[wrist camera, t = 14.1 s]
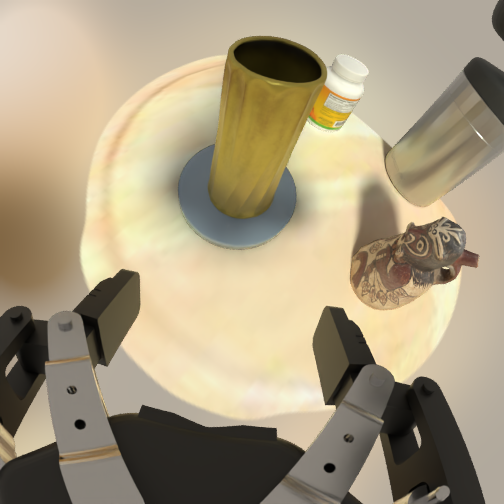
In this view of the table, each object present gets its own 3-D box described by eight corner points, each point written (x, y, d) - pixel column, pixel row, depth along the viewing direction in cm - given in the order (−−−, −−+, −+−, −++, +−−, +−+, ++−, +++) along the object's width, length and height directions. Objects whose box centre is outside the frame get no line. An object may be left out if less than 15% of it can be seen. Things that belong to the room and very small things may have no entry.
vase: (194, 181, 24) (196, 43, 11) (247, 153, 26) (284, 27, 12) (233, 232, 23) (273, 105, 10) (287, 198, 25) (357, 81, 12)
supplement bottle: (305, 99, 32) (330, 45, 23) (342, 114, 33) (372, 64, 24) (300, 123, 31) (328, 64, 21) (340, 139, 31) (376, 86, 22)
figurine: (373, 231, 28) (448, 178, 16) (411, 277, 27) (493, 245, 16) (336, 275, 25) (421, 231, 14) (380, 325, 25) (474, 309, 13)
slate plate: (283, 152, 29) (286, 144, 27) (299, 247, 25) (304, 242, 24) (181, 150, 26) (180, 142, 25) (179, 252, 23) (177, 246, 22)
